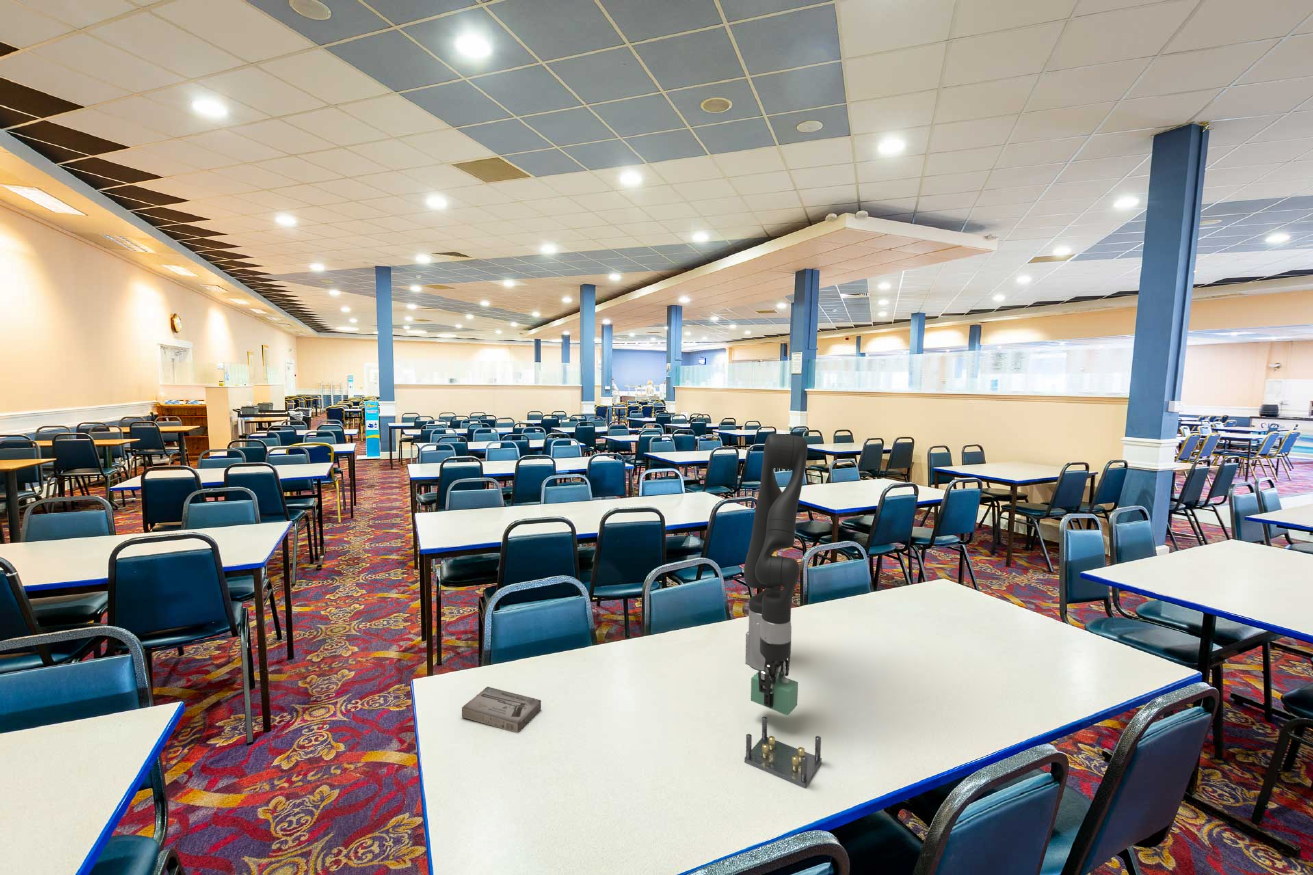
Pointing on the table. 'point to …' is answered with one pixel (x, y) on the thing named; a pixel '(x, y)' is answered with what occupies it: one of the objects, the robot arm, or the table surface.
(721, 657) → the table surface
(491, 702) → the box
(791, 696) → the module block
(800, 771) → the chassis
